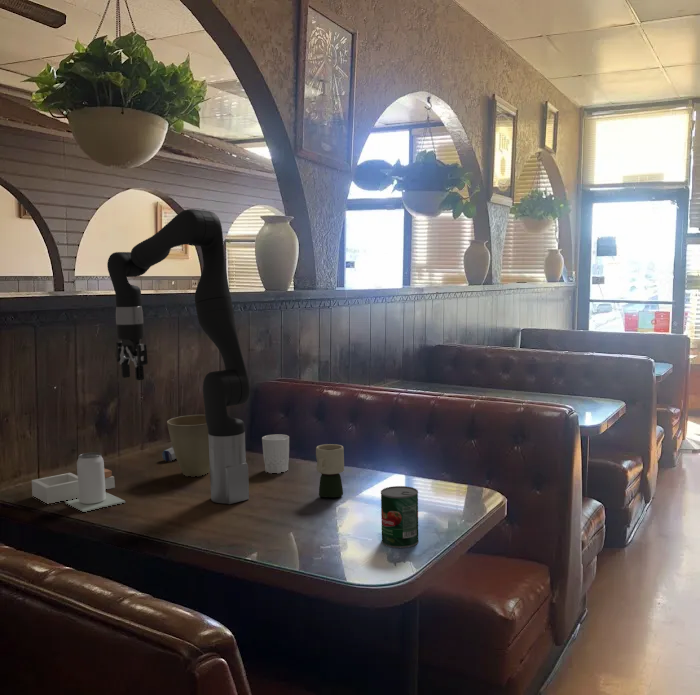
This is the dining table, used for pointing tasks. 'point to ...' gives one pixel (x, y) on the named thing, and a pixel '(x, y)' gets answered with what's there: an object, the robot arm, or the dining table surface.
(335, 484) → the character mug
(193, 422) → the plant pot
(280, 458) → the white cup
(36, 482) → the white piece
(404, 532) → the canned tomato
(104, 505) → the pad
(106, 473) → the light brown square block
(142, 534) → the dining table surface
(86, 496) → the can
